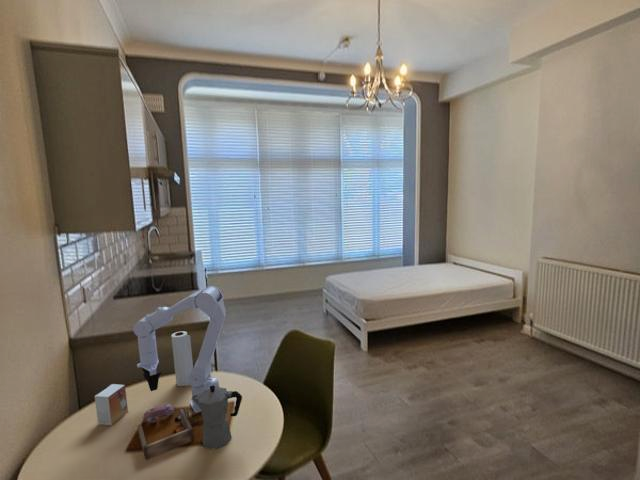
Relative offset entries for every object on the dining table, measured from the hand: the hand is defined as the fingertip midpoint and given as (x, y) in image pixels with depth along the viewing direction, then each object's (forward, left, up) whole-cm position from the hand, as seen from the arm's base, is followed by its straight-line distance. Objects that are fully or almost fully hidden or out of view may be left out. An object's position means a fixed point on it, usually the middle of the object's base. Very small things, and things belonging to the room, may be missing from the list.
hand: (152, 385), depth 128 cm
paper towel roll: (-13, -10, -9) cm, 19 cm away
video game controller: (0, +10, -9) cm, 13 cm away
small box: (+13, -2, -9) cm, 16 cm away
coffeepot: (-14, +32, -9) cm, 36 cm away
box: (0, +21, -8) cm, 23 cm away
